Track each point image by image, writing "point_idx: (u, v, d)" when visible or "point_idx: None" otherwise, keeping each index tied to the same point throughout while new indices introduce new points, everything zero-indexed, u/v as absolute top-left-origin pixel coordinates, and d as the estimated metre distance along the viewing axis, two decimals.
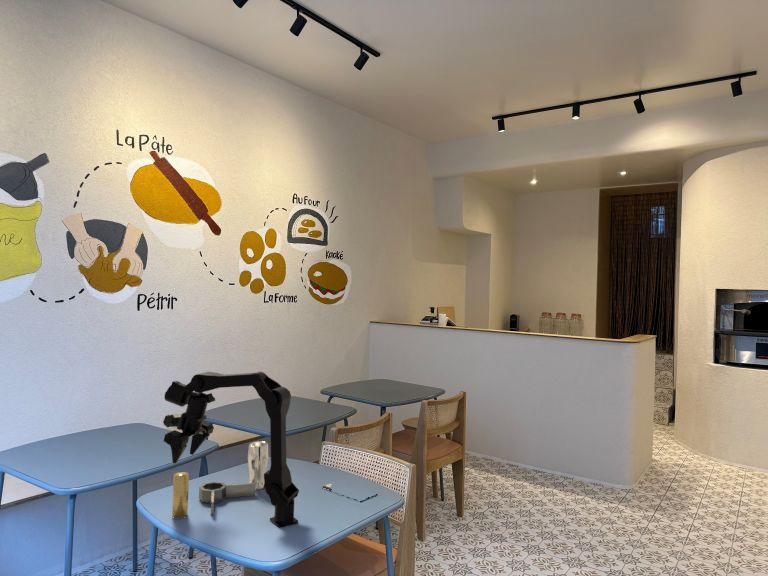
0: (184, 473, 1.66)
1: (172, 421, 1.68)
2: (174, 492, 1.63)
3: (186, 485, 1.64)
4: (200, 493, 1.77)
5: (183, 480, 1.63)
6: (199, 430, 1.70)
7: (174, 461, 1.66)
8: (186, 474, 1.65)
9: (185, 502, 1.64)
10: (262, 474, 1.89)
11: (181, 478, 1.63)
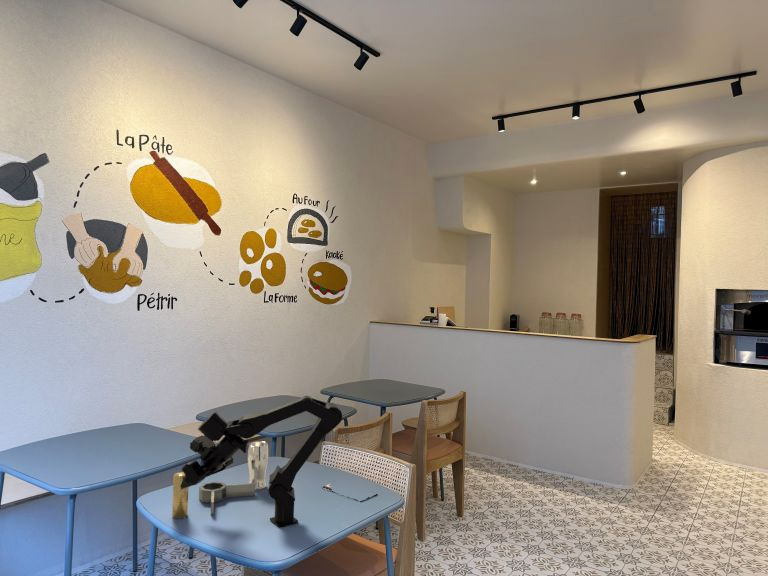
0: None
1: (198, 449, 1.59)
2: (174, 492, 1.63)
3: None
4: (200, 493, 1.77)
5: None
6: (219, 468, 1.61)
7: (182, 486, 1.59)
8: None
9: (185, 502, 1.64)
10: (262, 474, 1.89)
11: (181, 478, 1.63)
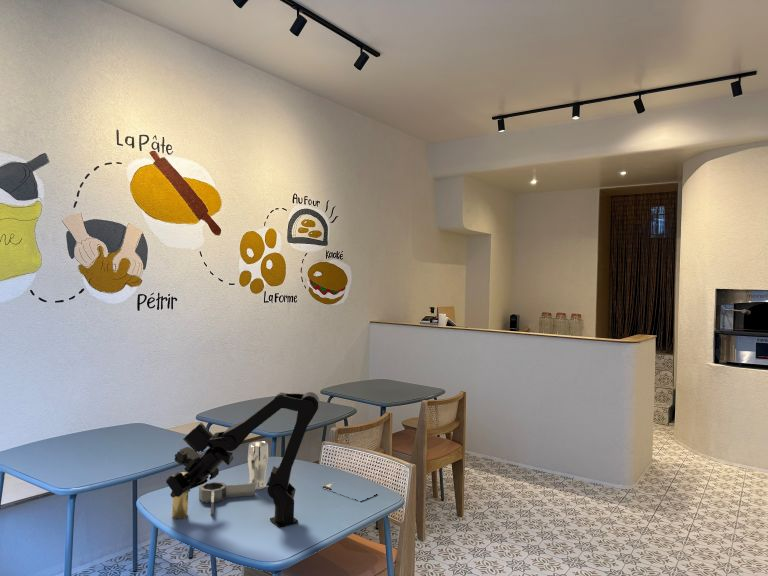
0: (184, 473, 1.66)
1: (183, 461, 1.60)
2: None
3: None
4: (200, 493, 1.77)
5: None
6: (203, 479, 1.63)
7: (172, 495, 1.63)
8: None
9: (185, 502, 1.64)
10: (262, 474, 1.89)
11: None
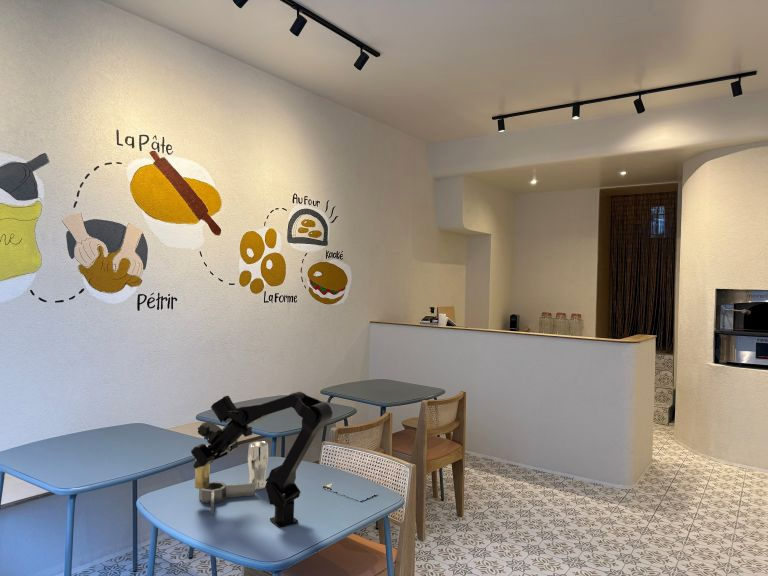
0: None
1: (206, 433, 1.70)
2: None
3: None
4: (200, 493, 1.77)
5: None
6: (225, 451, 1.72)
7: (195, 466, 1.72)
8: None
9: (207, 473, 1.73)
10: (262, 474, 1.89)
11: None
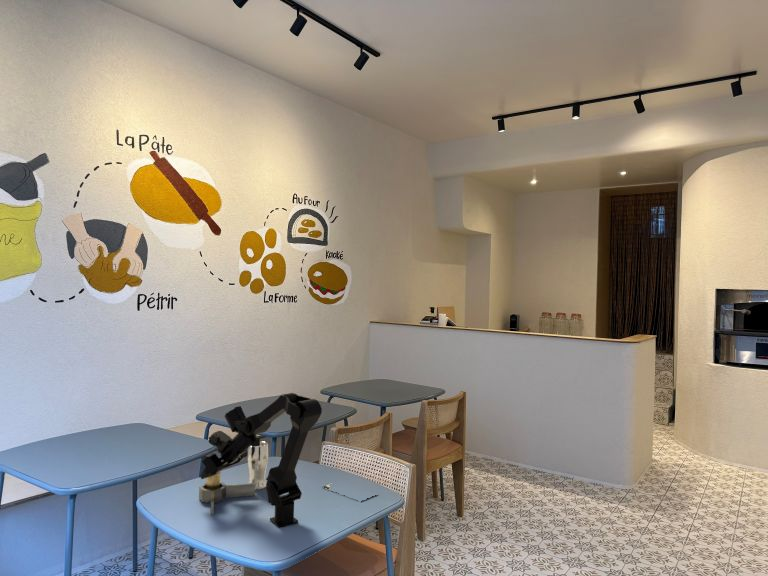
0: None
1: (216, 443, 1.75)
2: None
3: None
4: (200, 493, 1.77)
5: None
6: (235, 460, 1.77)
7: (202, 477, 1.75)
8: None
9: (218, 486, 1.78)
10: (262, 474, 1.89)
11: None
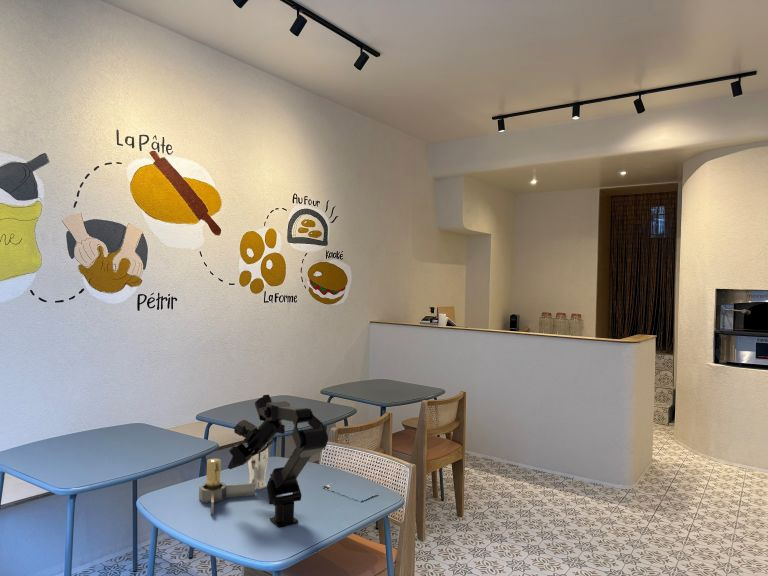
0: (216, 459, 1.80)
1: (242, 432, 1.72)
2: (208, 476, 1.77)
3: (219, 470, 1.78)
4: (200, 493, 1.77)
5: (216, 465, 1.78)
6: (261, 449, 1.75)
7: (229, 467, 1.72)
8: (218, 460, 1.79)
9: (218, 486, 1.78)
10: (262, 474, 1.89)
11: (214, 463, 1.77)
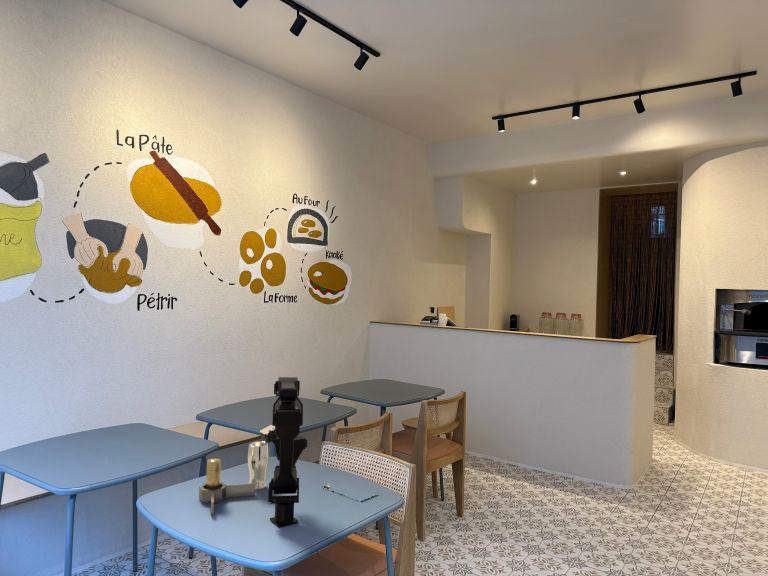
0: (216, 459, 1.80)
1: None
2: (208, 476, 1.77)
3: (219, 470, 1.78)
4: (200, 493, 1.77)
5: (216, 465, 1.78)
6: None
7: None
8: (218, 460, 1.79)
9: (218, 486, 1.78)
10: (262, 474, 1.89)
11: (214, 463, 1.77)
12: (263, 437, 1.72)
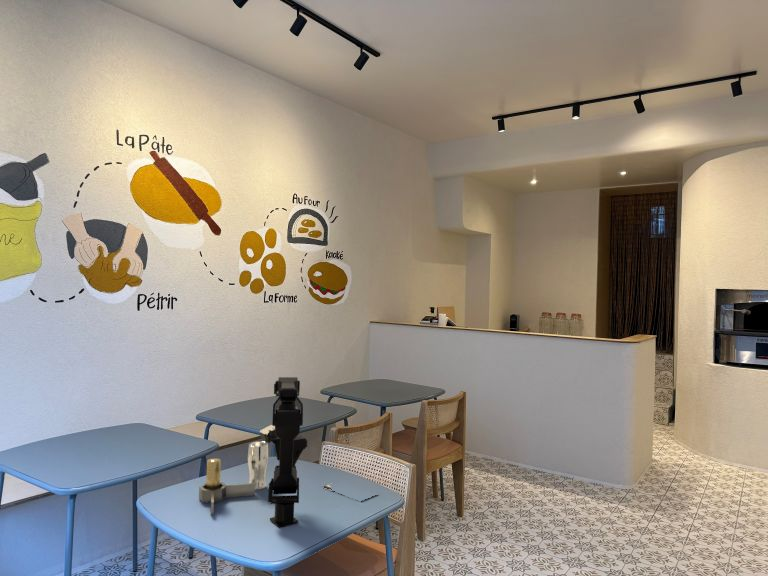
0: (216, 459, 1.80)
1: None
2: (208, 476, 1.77)
3: (219, 470, 1.78)
4: (200, 493, 1.77)
5: (216, 465, 1.78)
6: None
7: None
8: (218, 460, 1.79)
9: (218, 486, 1.78)
10: (262, 474, 1.89)
11: (214, 463, 1.77)
12: (263, 437, 1.72)
